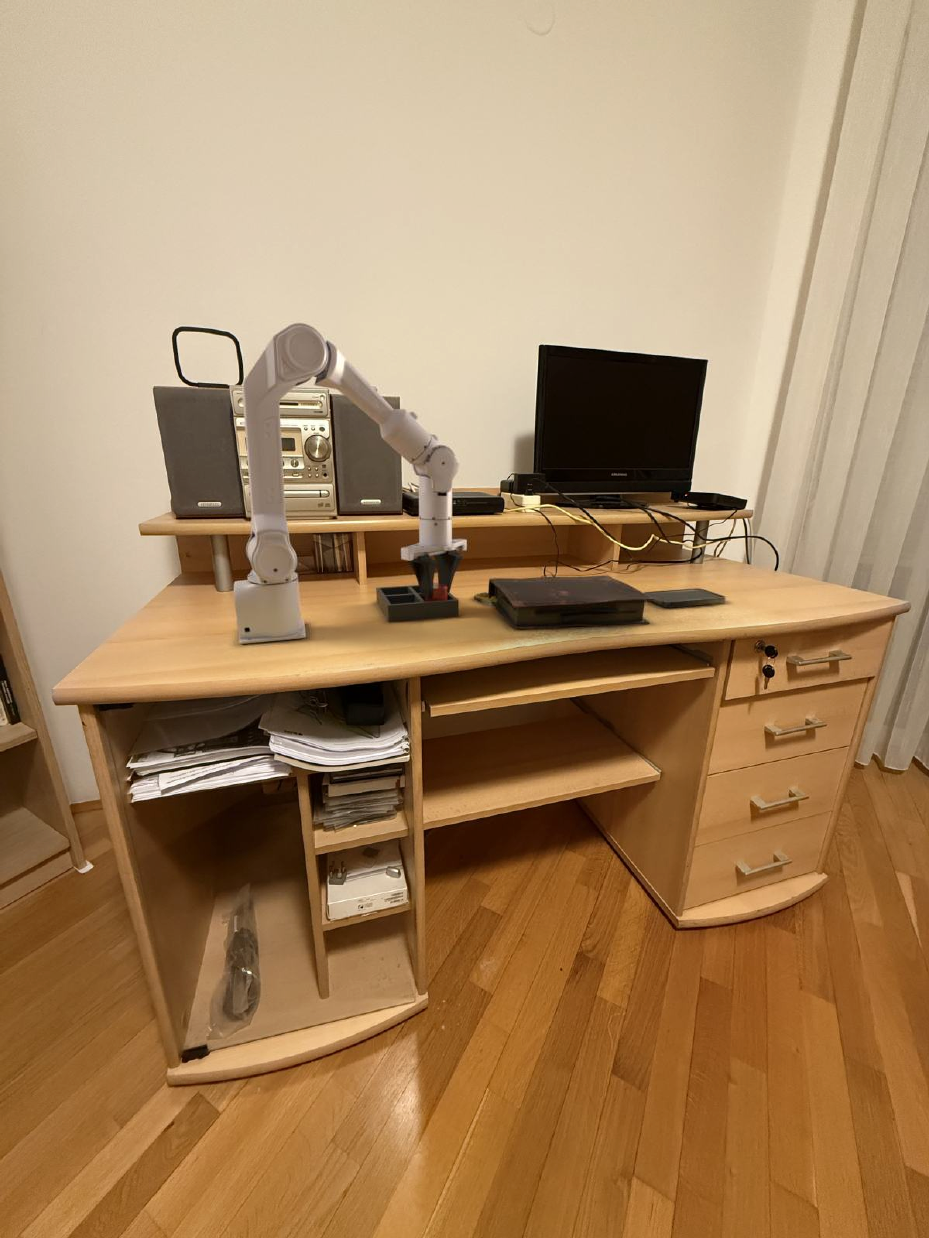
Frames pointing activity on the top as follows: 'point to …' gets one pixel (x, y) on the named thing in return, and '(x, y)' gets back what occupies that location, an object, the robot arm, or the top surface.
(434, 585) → the red short cylinder
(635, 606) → the diary
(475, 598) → the seal
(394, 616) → the tray
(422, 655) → the top surface
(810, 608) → the top surface
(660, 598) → the phone
